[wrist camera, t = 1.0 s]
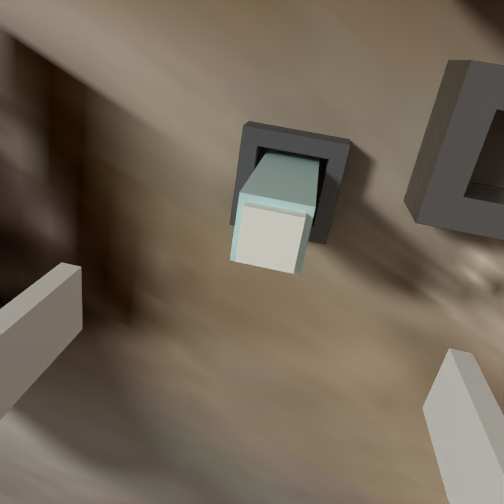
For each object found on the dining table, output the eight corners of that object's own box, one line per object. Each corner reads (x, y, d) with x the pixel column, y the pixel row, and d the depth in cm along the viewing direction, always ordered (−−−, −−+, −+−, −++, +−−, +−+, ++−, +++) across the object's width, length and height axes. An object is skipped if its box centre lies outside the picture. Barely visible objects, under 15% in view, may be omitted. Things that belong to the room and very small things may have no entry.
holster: (235, 214, 35) (229, 224, 33) (249, 121, 32) (243, 125, 30) (325, 232, 35) (325, 244, 33) (348, 139, 32) (350, 145, 29)
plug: (260, 197, 35) (226, 266, 23) (268, 149, 33) (236, 196, 21) (308, 207, 34) (299, 281, 23) (319, 158, 33) (315, 211, 21)
